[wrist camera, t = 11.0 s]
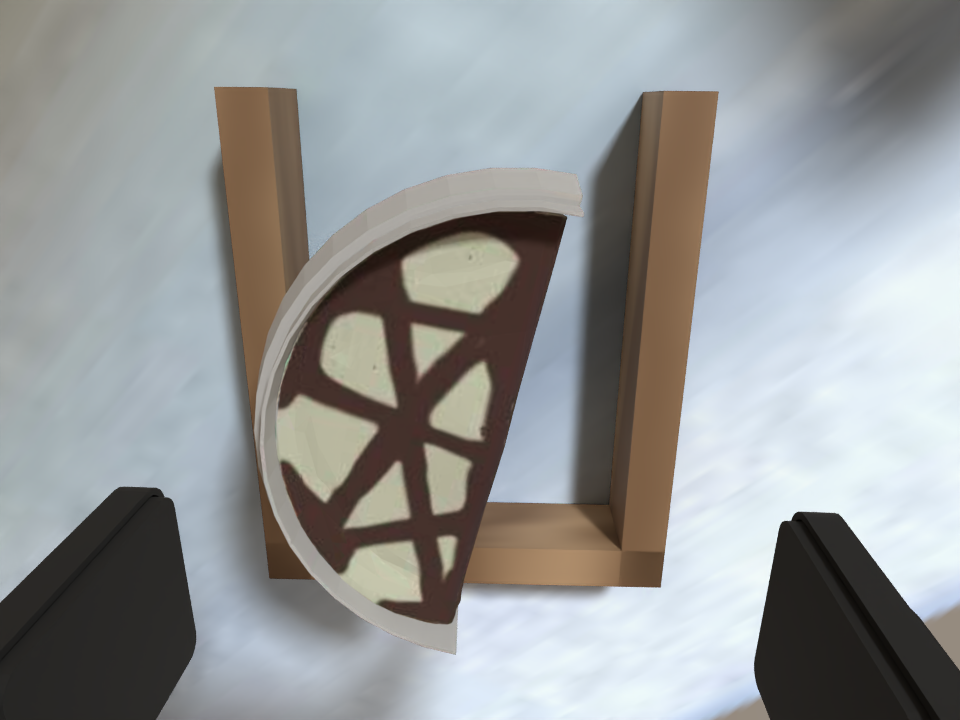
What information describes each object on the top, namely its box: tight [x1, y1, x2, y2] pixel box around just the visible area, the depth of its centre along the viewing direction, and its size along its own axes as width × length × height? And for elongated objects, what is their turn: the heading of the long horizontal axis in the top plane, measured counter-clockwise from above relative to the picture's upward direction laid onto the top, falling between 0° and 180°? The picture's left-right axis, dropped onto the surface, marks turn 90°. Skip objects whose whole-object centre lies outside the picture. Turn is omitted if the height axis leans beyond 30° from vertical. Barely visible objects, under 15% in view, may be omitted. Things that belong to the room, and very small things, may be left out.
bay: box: [214, 87, 719, 588], centre depth 24 cm, size 14×16×3 cm
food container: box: [254, 168, 584, 655], centre depth 20 cm, size 12×6×10 cm, turn 166°
